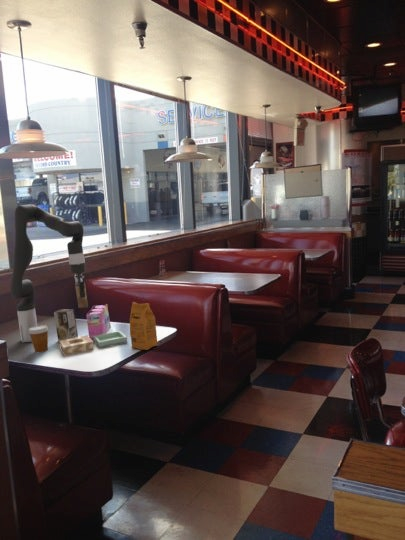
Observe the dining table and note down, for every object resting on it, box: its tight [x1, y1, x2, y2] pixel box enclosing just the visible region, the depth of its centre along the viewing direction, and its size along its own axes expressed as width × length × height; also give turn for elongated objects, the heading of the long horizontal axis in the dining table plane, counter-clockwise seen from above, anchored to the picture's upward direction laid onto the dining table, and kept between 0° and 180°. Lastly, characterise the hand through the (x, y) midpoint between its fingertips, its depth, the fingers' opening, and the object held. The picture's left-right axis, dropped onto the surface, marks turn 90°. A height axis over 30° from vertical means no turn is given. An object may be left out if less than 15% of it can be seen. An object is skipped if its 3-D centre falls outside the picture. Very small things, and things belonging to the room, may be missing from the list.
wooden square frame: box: [59, 335, 95, 356], centre depth 248 cm, size 14×14×4 cm
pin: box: [74, 282, 89, 309], centre depth 246 cm, size 5×5×12 cm
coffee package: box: [129, 301, 159, 351], centre depth 239 cm, size 10×12×22 cm
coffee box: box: [53, 308, 79, 342], centre depth 265 cm, size 9×6×16 cm
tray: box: [93, 330, 128, 349], centre depth 254 cm, size 14×14×3 cm
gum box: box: [86, 303, 111, 340], centre depth 275 cm, size 24×8×14 cm, turn 1°
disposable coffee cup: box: [29, 324, 49, 353], centre depth 250 cm, size 10×10×12 cm
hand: (81, 296), depth 246 cm, fingers closed on pin, 4 cm apart
